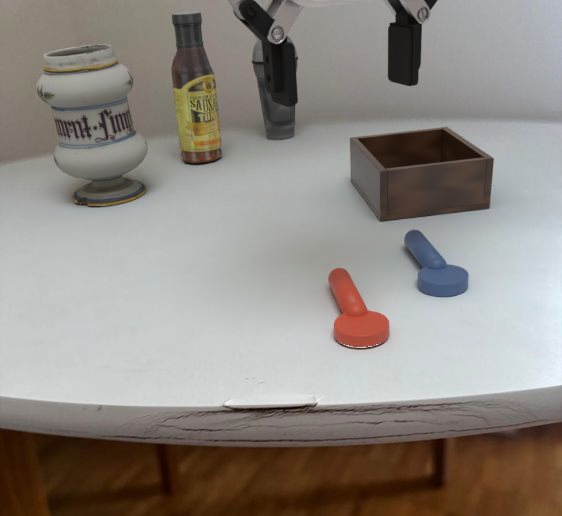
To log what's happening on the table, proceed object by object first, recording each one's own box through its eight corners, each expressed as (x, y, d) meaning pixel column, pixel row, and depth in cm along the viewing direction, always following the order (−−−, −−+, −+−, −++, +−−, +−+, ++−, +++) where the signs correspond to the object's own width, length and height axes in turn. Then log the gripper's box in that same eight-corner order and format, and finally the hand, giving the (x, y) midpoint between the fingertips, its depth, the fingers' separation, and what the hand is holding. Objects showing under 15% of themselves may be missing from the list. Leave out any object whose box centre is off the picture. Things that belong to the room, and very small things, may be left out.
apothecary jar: (45, 205, 92) (6, 57, 82) (104, 178, 100) (75, 42, 91) (116, 213, 86) (83, 57, 77) (172, 184, 95) (148, 40, 86)
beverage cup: (294, 142, 110) (285, -1, 99) (252, 141, 112) (238, 2, 101) (308, 130, 115) (300, -6, 105) (267, 130, 118) (256, -3, 107)
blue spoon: (390, 248, 71) (390, 229, 69) (432, 243, 71) (432, 224, 70) (425, 299, 60) (426, 278, 59) (475, 293, 61) (476, 272, 59)
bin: (444, 170, 91) (447, 126, 88) (489, 208, 78) (494, 158, 75) (350, 181, 90) (349, 137, 87) (380, 221, 77) (379, 171, 74)
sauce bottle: (201, 167, 101) (180, 15, 91) (173, 162, 105) (150, 15, 95) (233, 156, 105) (216, 9, 95) (205, 151, 109) (186, 9, 99)
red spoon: (314, 287, 64) (312, 267, 63) (360, 281, 64) (360, 261, 63) (339, 352, 54) (339, 329, 53) (395, 345, 54) (395, 322, 53)
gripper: (221, -226, 35) (253, 121, 45) (498, -229, 41) (476, 82, 50) (179, -198, 41) (215, 104, 50) (425, -204, 47) (418, 70, 56)
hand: (345, 93), depth 50 cm, fingers open, 9 cm apart
